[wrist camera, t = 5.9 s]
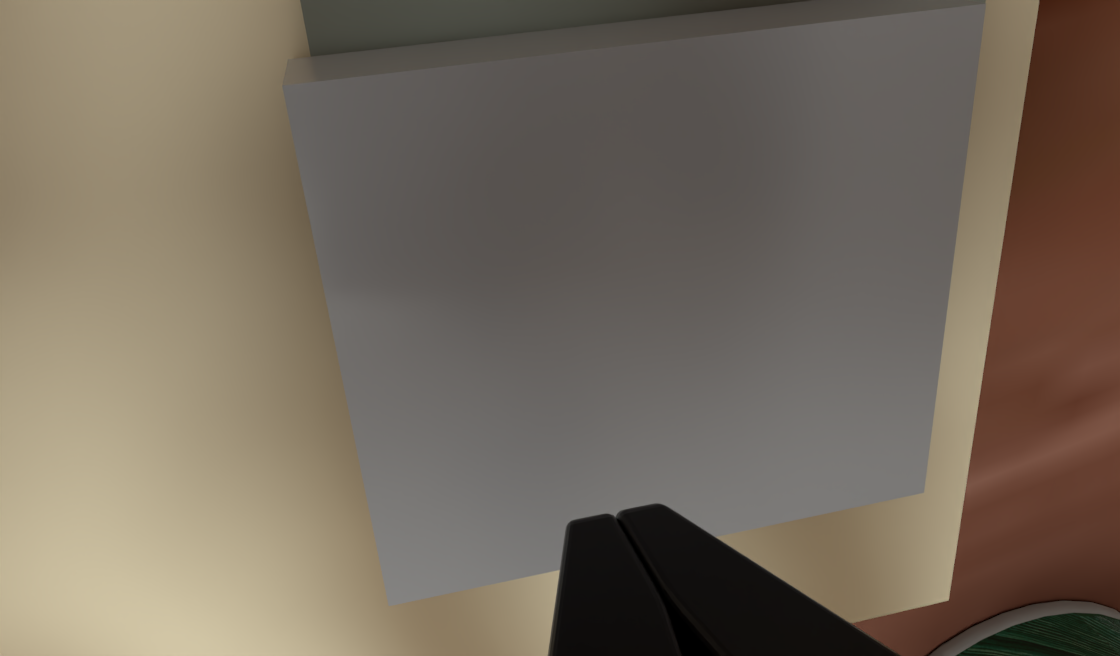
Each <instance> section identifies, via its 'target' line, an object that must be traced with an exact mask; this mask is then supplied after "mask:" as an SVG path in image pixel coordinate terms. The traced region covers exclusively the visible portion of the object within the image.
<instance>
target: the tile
mask: <svg viewBox="0 0 1120 656" xmlns="http://www.w3.org/2000/svg"><path fill="white" fill-rule="evenodd" d="M985 9H986V4H985V3H980V2H975V1H969V0H812V1H803V2H794V3H786V4H777V5H768V6H759V7H750V8H741V9H732V10H723V11H714V12H705V13H696V14H687V15H678V16H669V17H661V18H652V19H643V20H634V21H625V22H616V23H607V24H598V25H589V26H580V27H571V28H562V29H553V30H544V31H536V32H527V33H518V34H509V35H500V36H491V37H482V38H473V39H464V40H455V41H446V42H437V43H428V44H419V45H411V46H402V47H393V48H384V49H375V50H366V51H357V52H348V53H339V54H330V55H321V56H312V57H303V58H294V59H288V61H287V66H286V70H285V75H284V79H283V84H282V88H283V93H284V97H285V102H286V107H287V112H288V117H289V122H290V127H291V132H292V136H293V141H294V146H295V151H296V156H297V161H298V166H299V171H300V176H301V180H302V185H303V190H304V195H305V200H306V205H307V210H308V215H309V219H310V224H311V229H312V234H313V239H314V244H315V249H316V254H317V258H318V263H319V268H320V273H321V278H322V283H323V288H324V293H325V298H326V302H327V307H328V312H329V317H330V322H331V327H332V332H333V337H334V341H335V346H336V351H337V356H338V361H339V366H340V371H341V376H342V380H343V385H344V390H345V395H346V400H347V405H348V410H349V415H350V420H351V424H352V429H353V434H354V439H355V444H356V449H357V454H358V459H359V463H360V468H361V473H362V478H363V483H364V488H365V493H366V498H367V503H368V507H369V512H370V517H371V522H372V527H373V532H374V537H375V542H376V546H377V551H378V556H379V561H380V566H381V571H382V576H383V581H384V585H385V590H386V595H387V600H388V605H389V606H392V605H397V604H402V603H406V602H411V601H416V600H421V599H425V598H430V597H435V596H439V595H444V594H449V593H454V592H458V591H463V590H468V589H473V588H477V587H482V586H487V585H491V584H496V583H501V582H506V581H510V580H515V579H520V578H524V577H529V576H534V575H539V574H543V573H548V572H553V571H557V570H560V565H561V558H562V551H563V544H564V537H565V530H566V526H567V524H568V523H569V522H570V521H571V520H574V519H579V518H584V517H589V516H594V515H599V514H604V513H608V514H611V515H614V516H615V517H616V515H617V513H618V512H619V511H621V510H624V509H629V508H634V507H639V506H644V505H648V504H653V503H660V504H663V505H666V506H668V507H669V508H671V509H672V510H674V511H676V512H677V513H679V514H680V515H682V516H683V517H685V518H687V519H688V520H690V521H691V522H693V523H694V524H696V525H697V526H699V527H701V528H702V529H704V530H705V531H707V532H708V533H710V534H712V535H713V536H715V537H718V536H723V535H727V534H732V533H737V532H741V531H746V530H751V529H756V528H760V527H765V526H770V525H775V524H779V523H784V522H789V521H793V520H798V519H803V518H808V517H812V516H817V515H822V514H826V513H831V512H836V511H841V510H845V509H850V508H855V507H859V506H864V505H869V504H874V503H878V502H883V501H888V500H892V499H897V498H902V497H907V496H911V495H916V494H921V493H924V489H925V481H926V473H927V465H928V457H929V450H930V442H931V434H932V426H933V418H934V410H935V402H936V394H937V387H938V379H939V371H940V363H941V355H942V347H943V339H944V331H945V324H946V316H947V308H948V300H949V292H950V284H951V276H952V268H953V261H954V253H955V245H956V237H957V229H958V221H959V213H960V205H961V198H962V190H963V182H964V174H965V166H966V158H967V150H968V142H969V135H970V127H971V119H972V111H973V103H974V95H975V87H976V79H977V72H978V64H979V56H980V48H981V40H982V32H983V24H984V17H985Z"/></svg>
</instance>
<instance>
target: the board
mask: <svg viewBox="0 0 1120 656" xmlns="http://www.w3.org/2000/svg"><path fill="white" fill-rule="evenodd" d="M803 1H812V0H0V656H548V650H549V643H550V636H551V629H552V621H553V614H554V607H555V600H556V593H557V586H558V579H559V572H560V570H557V571H553V572H548V573H543V574H539V575H534V576H529V577H524V578H520V579H515V580H510V581H506V582H501V583H496V584H491V585H487V586H482V587H477V588H473V589H468V590H463V591H458V592H454V593H449V594H444V595H439V596H435V597H430V598H425V599H421V600H416V601H411V602H406V603H402V604H397V605H392V606H389V605H388V600H387V595H386V590H385V585H384V581H383V576H382V571H381V566H380V561H379V556H378V551H377V546H376V542H375V537H374V532H373V527H372V522H371V517H370V512H369V507H368V503H367V498H366V493H365V488H364V483H363V478H362V473H361V468H360V463H359V459H358V454H357V449H356V444H355V439H354V434H353V429H352V424H351V420H350V415H349V410H348V405H347V400H346V395H345V390H344V385H343V380H342V376H341V371H340V366H339V361H338V356H337V351H336V346H335V341H334V337H333V332H332V327H331V322H330V317H329V312H328V307H327V302H326V298H325V293H324V288H323V283H322V278H321V273H320V268H319V263H318V258H317V254H316V249H315V244H314V239H313V234H312V229H311V224H310V219H309V215H308V210H307V205H306V200H305V195H304V190H303V185H302V180H301V176H300V171H299V166H298V161H297V156H296V151H295V146H294V141H293V136H292V132H291V127H290V122H289V117H288V112H287V107H286V102H285V97H284V93H283V88H282V84H283V79H284V75H285V70H286V66H287V61H288V59H294V58H303V57H312V56H321V55H330V54H339V53H348V52H357V51H366V50H375V49H384V48H393V47H402V46H411V45H419V44H428V43H437V42H446V41H455V40H464V39H473V38H482V37H491V36H500V35H509V34H518V33H527V32H536V31H544V30H553V29H562V28H571V27H580V26H589V25H598V24H607V23H616V22H625V21H634V20H643V19H652V18H661V17H669V16H678V15H687V14H696V13H705V12H714V11H723V10H732V9H741V8H750V7H759V6H768V5H777V4H786V3H794V2H803ZM969 1H975V2H980V3H985V4H986V9H985V17H984V24H983V32H982V40H981V48H980V56H979V64H978V72H977V79H976V87H975V95H974V103H973V111H972V119H971V127H970V135H969V142H968V150H967V158H966V166H965V174H964V182H963V190H962V198H961V205H960V213H959V221H958V229H957V237H956V245H955V253H954V261H953V268H952V276H951V284H950V292H949V300H948V308H947V316H946V324H945V331H944V339H943V347H942V355H941V363H940V371H939V379H938V387H937V394H936V402H935V410H934V418H933V426H932V434H931V442H930V450H929V457H928V465H927V473H926V481H925V489H924V493H921V494H916V495H911V496H907V497H902V498H897V499H892V500H888V501H883V502H878V503H874V504H869V505H864V506H859V507H855V508H850V509H845V510H841V511H836V512H831V513H826V514H822V515H817V516H812V517H808V518H803V519H798V520H793V521H789V522H784V523H779V524H775V525H770V526H765V527H760V528H756V529H751V530H746V531H741V532H737V533H732V534H727V535H723V536H718V537H716V538H718V539H719V540H721V541H722V542H724V543H726V544H727V545H729V546H730V547H732V548H733V549H735V550H737V551H738V552H740V553H741V554H743V555H744V556H746V557H748V558H749V559H751V560H752V561H754V562H755V563H757V564H758V565H760V566H762V567H763V568H765V569H766V570H768V571H769V572H771V573H773V574H774V575H776V576H777V577H779V578H780V579H782V580H784V581H785V582H787V583H788V584H790V585H791V586H793V587H794V588H796V589H798V590H799V591H801V592H802V593H804V594H805V595H807V596H809V597H810V598H812V599H813V600H815V601H816V602H818V603H820V604H821V605H823V606H824V607H826V608H827V609H829V610H830V611H832V612H834V613H835V614H837V615H838V616H840V617H841V618H843V619H845V620H846V621H848V622H849V623H855V622H859V621H863V620H867V619H872V618H876V617H880V616H885V615H889V614H893V613H897V612H902V611H906V610H910V609H914V608H919V607H923V606H927V605H931V604H936V603H940V602H944V601H949V595H950V588H951V582H952V575H953V568H954V562H955V555H956V549H957V542H958V535H959V529H960V522H961V516H962V509H963V502H964V496H965V489H966V483H967V476H968V469H969V463H970V456H971V449H972V443H973V436H974V430H975V423H976V416H977V410H978V403H979V397H980V390H981V383H982V377H983V370H984V364H985V357H986V350H987V344H988V337H989V331H990V324H991V317H992V311H993V304H994V297H995V291H996V284H997V278H998V271H999V264H1000V258H1001V251H1002V245H1003V238H1004V231H1005V225H1006V218H1007V212H1008V205H1009V198H1010V192H1011V185H1012V179H1013V172H1014V165H1015V159H1016V152H1017V145H1018V139H1019V132H1020V126H1021V119H1022V112H1023V106H1024V99H1025V93H1026V86H1027V79H1028V73H1029V66H1030V60H1031V53H1032V46H1033V40H1034V33H1035V27H1036V20H1037V13H1038V7H1039V0H969Z"/></svg>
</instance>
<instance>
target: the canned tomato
mask: <svg viewBox="0 0 1120 656" xmlns="http://www.w3.org/2000/svg"><path fill="white" fill-rule="evenodd" d="M929 656H1120V613H1119V612H1118V611H1116V610H1115V609H1113V608H1109V607H1106V606H1103V605H1099V604H1096V603H1093V602H1080V601H1055V602H1048V603H1040V604H1033V605H1029V606H1026V607H1022V608H1019V609H1015V610H1012V611H1008V612H1005V613H1002V614H1000V615H997V616H995V617H993V618H991V619H988V620H986V621H984V622H982V623H979V624H977V625H975V626H973V627H971V628H969V629H967V630H966V631H964V632H962V633H961V634H959V635H958V636H956V637H954V638H953V639H951V640H949V641H948V642H946V643H944V644H943V645H941V646H940V647H939V648H938V649H936V650H935V651H934V652H932V653H931V654H930V655H929Z"/></svg>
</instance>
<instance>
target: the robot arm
mask: <svg viewBox="0 0 1120 656" xmlns="http://www.w3.org/2000/svg"><path fill="white" fill-rule="evenodd" d="M548 656H901V655H899V654H898V653H896V652H895V651H893V650H892V649H890V648H888V647H887V646H885V645H884V644H882V643H881V642H879V641H877V640H876V639H874V638H873V637H871V636H870V635H868V634H866V633H865V632H863V631H862V630H860V629H859V628H857V627H856V626H854V625H852V624H851V623H849V622H848V621H846V620H845V619H843V618H841V617H840V616H838V615H837V614H835V613H834V612H832V611H830V610H829V609H827V608H826V607H824V606H823V605H821V604H820V603H818V602H816V601H815V600H813V599H812V598H810V597H809V596H807V595H805V594H804V593H802V592H801V591H799V590H798V589H796V588H794V587H793V586H791V585H790V584H788V583H787V582H785V581H784V580H782V579H780V578H779V577H777V576H776V575H774V574H773V573H771V572H769V571H768V570H766V569H765V568H763V567H762V566H760V565H758V564H757V563H755V562H754V561H752V560H751V559H749V558H748V557H746V556H744V555H743V554H741V553H740V552H738V551H737V550H735V549H733V548H732V547H730V546H729V545H727V544H726V543H724V542H722V541H721V540H719V539H718V538H716V537H715V536H713V535H712V534H710V533H708V532H707V531H705V530H704V529H702V528H701V527H699V526H697V525H696V524H694V523H693V522H691V521H690V520H688V519H687V518H685V517H683V516H682V515H680V514H679V513H677V512H676V511H674V510H672V509H671V508H669V507H668V506H666V505H663V504H660V503H653V504H648V505H644V506H639V507H634V508H629V509H624V510H621V511H619V512H618V513H617V515H616V517H615V516H614V515H611V514H608V513H604V514H599V515H594V516H589V517H584V518H579V519H574V520H571V521H570V522H569V523H568V524H567V526H566V530H565V537H564V544H563V551H562V558H561V565H560V572H559V579H558V586H557V593H556V600H555V607H554V614H553V621H552V629H551V636H550V643H549V650H548Z"/></svg>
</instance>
